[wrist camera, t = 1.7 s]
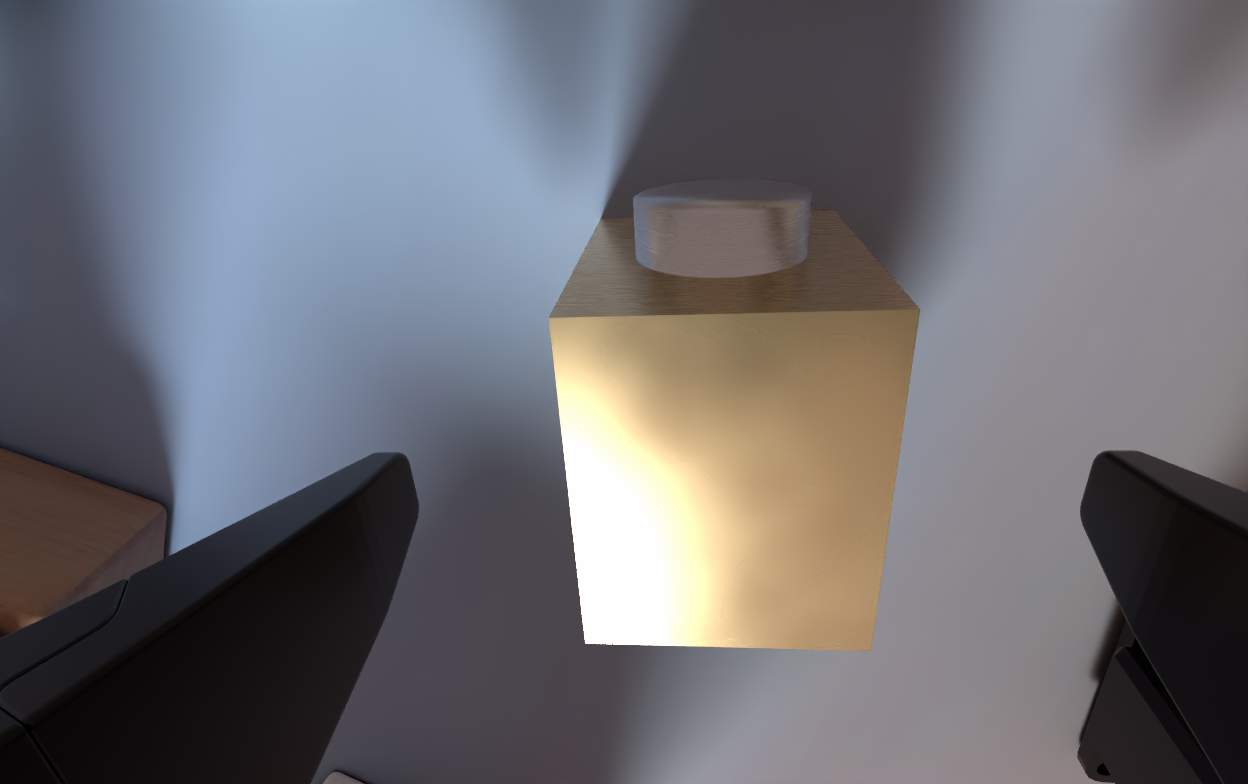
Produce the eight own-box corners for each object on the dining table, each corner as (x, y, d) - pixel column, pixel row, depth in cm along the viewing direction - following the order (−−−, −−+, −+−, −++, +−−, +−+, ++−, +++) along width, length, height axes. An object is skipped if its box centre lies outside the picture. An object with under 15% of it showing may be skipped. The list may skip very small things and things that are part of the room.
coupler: (598, 171, 12) (540, 247, 7) (837, 160, 11) (930, 234, 7) (620, 489, 15) (589, 682, 10) (811, 490, 14) (865, 692, 10)
